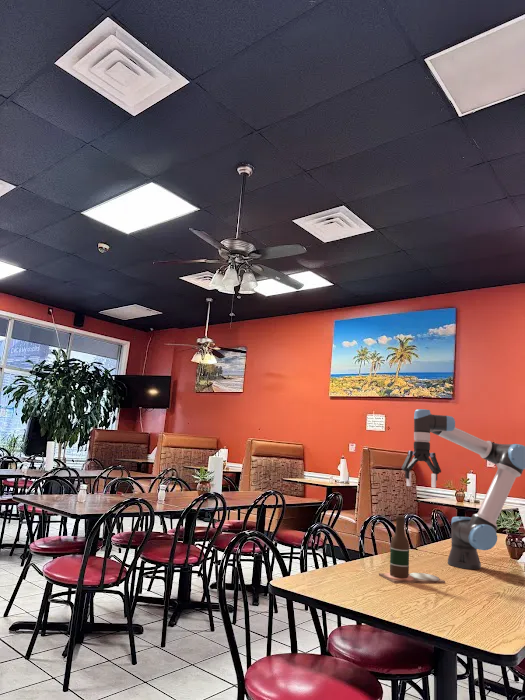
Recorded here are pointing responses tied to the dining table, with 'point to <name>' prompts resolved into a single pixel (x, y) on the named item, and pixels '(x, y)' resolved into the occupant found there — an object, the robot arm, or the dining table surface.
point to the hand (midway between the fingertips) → (421, 487)
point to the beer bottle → (399, 551)
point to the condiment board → (413, 578)
